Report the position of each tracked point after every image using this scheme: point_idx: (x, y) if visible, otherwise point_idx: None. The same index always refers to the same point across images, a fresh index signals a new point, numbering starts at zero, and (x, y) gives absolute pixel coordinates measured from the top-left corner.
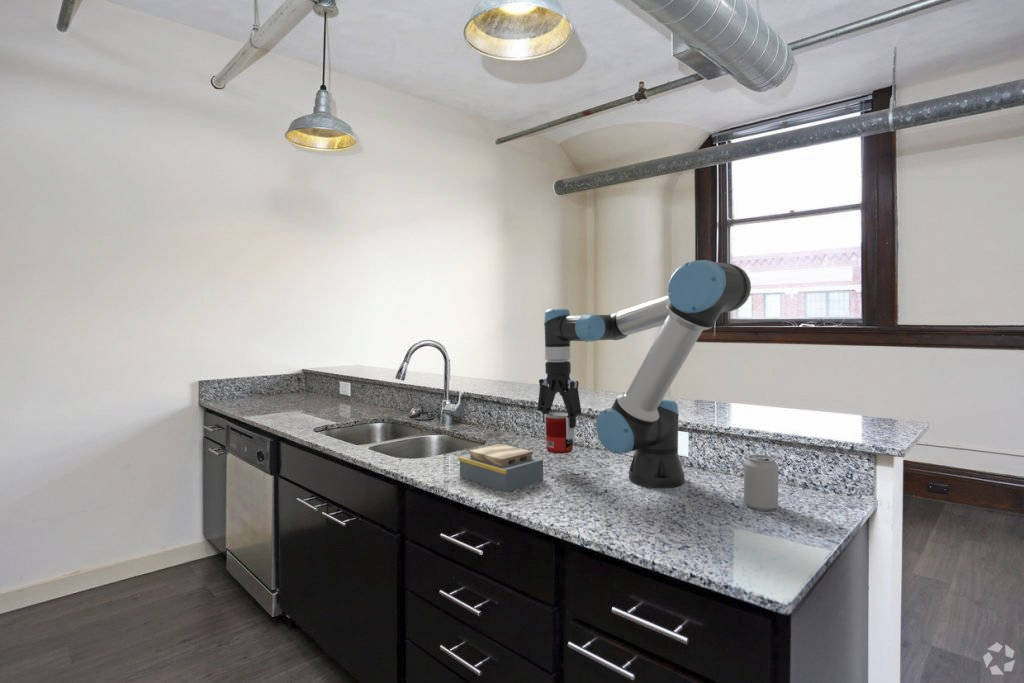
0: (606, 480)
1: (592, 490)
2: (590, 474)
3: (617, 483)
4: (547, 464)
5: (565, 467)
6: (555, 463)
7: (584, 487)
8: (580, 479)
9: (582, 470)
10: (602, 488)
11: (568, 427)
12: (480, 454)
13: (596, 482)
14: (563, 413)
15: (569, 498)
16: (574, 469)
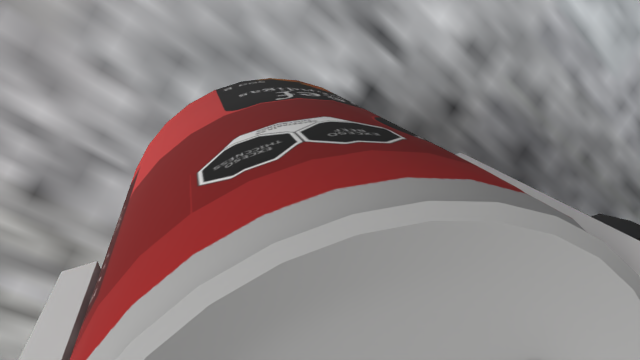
0: (557, 19)
1: (609, 193)
2: (419, 20)
3: (626, 3)
4: (31, 141)
5: (183, 65)
6: (30, 66)
7: None
8: (457, 142)
9: (317, 3)
10: (622, 133)
11: None
12: None
13: (545, 96)
14: (261, 315)
15: None
16: (265, 39)
